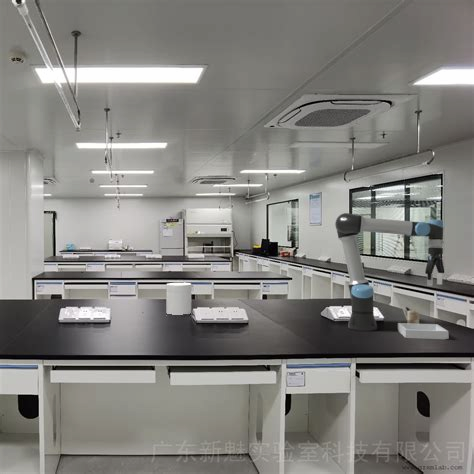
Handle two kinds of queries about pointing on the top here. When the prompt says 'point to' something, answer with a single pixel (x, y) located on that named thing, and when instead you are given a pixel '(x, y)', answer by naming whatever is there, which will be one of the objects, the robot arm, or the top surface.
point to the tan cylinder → (413, 317)
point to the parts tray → (423, 331)
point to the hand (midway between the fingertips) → (434, 285)
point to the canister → (178, 298)
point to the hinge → (406, 310)
